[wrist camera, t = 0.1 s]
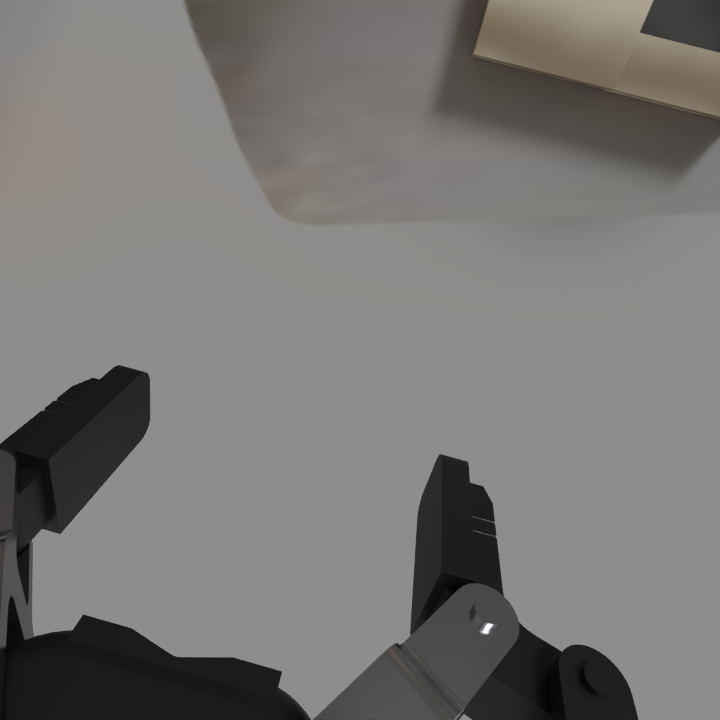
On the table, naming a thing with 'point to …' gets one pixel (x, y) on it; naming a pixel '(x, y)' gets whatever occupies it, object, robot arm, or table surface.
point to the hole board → (613, 46)
